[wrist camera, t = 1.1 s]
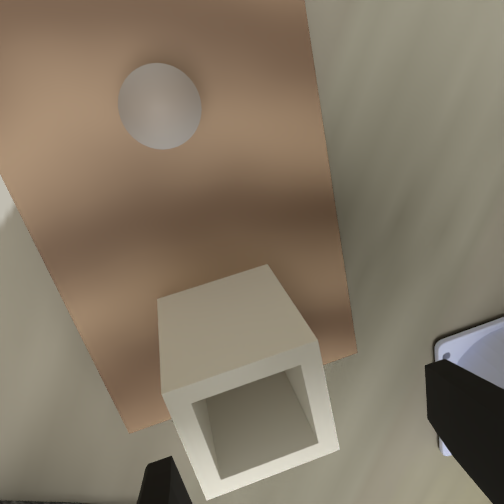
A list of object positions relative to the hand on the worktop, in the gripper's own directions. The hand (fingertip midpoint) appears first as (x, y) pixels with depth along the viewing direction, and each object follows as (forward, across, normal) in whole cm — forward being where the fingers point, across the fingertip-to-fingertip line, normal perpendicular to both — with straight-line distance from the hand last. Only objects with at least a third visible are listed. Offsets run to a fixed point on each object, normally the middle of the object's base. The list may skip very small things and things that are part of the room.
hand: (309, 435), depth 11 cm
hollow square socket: (+8, +1, +1) cm, 8 cm away
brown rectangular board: (+10, +1, -4) cm, 10 cm away
